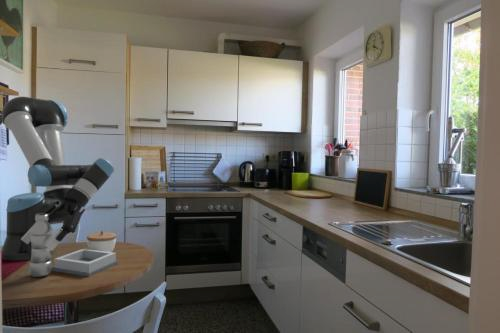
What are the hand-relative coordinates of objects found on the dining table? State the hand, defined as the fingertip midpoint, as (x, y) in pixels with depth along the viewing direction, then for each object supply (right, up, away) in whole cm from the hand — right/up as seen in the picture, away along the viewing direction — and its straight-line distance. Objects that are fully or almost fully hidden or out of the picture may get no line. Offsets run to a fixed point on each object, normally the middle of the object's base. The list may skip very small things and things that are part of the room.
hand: (35, 245), depth 112 cm
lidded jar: (+9, -10, +28) cm, 31 cm away
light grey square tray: (+10, -10, +12) cm, 19 cm away
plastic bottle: (0, -11, +2) cm, 11 cm away
